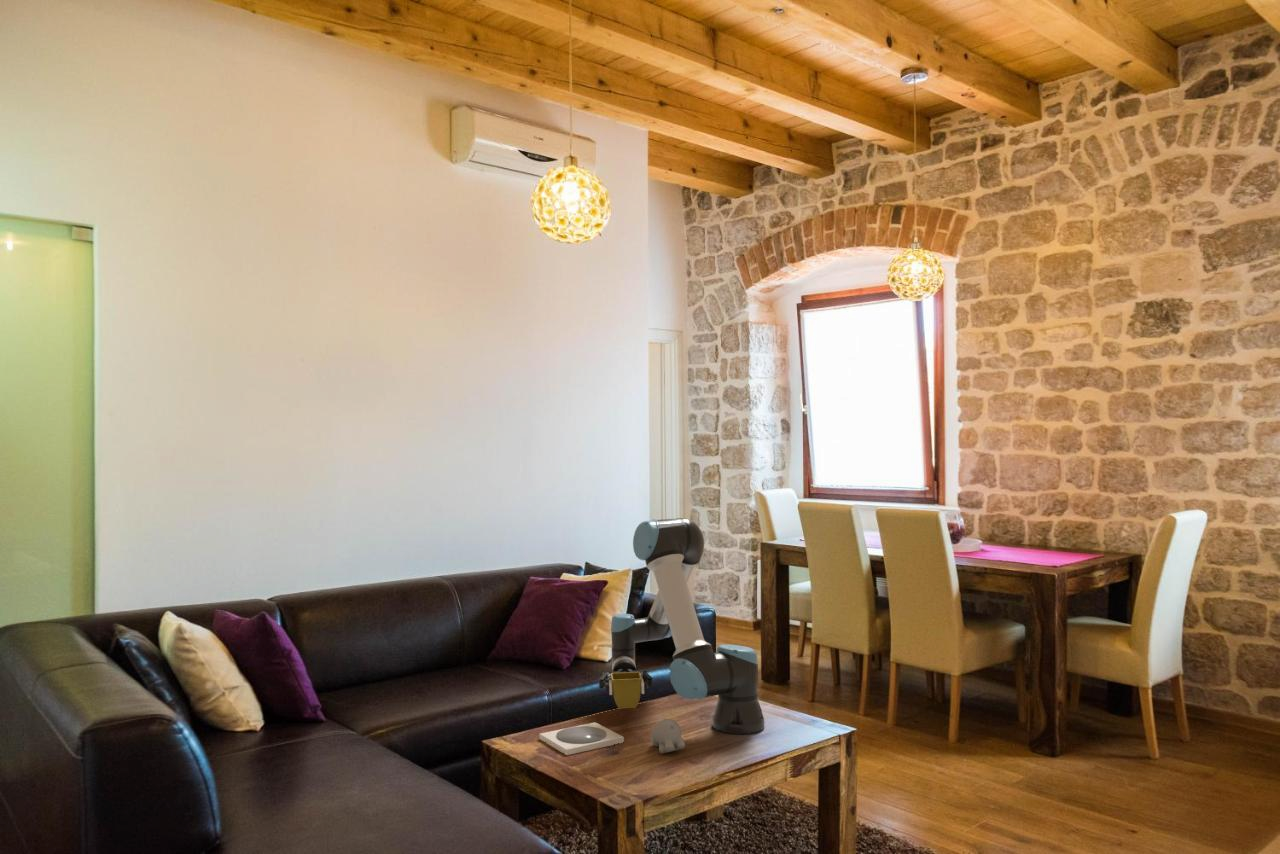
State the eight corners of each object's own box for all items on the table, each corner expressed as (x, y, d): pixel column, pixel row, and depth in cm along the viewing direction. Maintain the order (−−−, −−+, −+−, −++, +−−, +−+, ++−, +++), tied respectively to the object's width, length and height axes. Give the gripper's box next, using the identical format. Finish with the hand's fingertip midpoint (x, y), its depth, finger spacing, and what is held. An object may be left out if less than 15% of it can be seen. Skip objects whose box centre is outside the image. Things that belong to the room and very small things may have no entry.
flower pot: (611, 703, 265) (610, 672, 266) (640, 701, 266) (639, 671, 266) (612, 711, 256) (611, 679, 257) (642, 710, 257) (642, 678, 258)
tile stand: (623, 742, 247) (623, 735, 247) (566, 755, 238) (566, 748, 238) (595, 727, 261) (595, 721, 261) (539, 739, 251) (539, 732, 251)
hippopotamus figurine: (667, 753, 246) (661, 721, 249) (690, 748, 237) (683, 715, 240) (645, 757, 243) (639, 725, 246) (667, 752, 233) (660, 718, 236)
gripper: (658, 681, 280) (664, 701, 257) (590, 684, 279) (590, 704, 256) (658, 657, 280) (663, 675, 257) (590, 659, 279) (589, 677, 256)
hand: (626, 689), depth 257 cm, fingers closed on flower pot, 8 cm apart
